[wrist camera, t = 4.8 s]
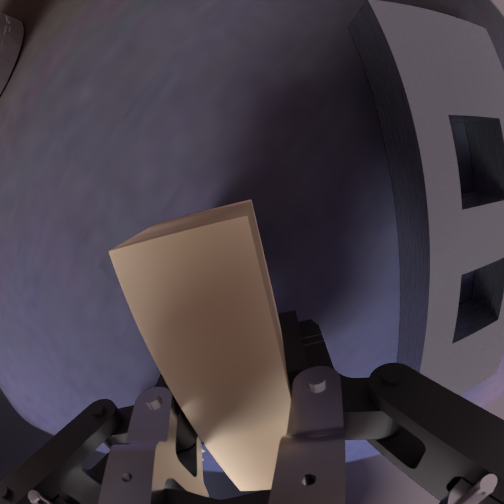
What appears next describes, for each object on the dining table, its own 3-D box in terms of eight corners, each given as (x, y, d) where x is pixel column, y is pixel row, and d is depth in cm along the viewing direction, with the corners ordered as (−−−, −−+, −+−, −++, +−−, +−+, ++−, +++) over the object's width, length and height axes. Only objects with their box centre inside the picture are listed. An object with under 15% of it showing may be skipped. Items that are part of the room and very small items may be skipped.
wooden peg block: (246, 390, 15) (240, 491, 8) (187, 206, 12) (108, 251, 5) (295, 381, 15) (310, 483, 8) (253, 190, 12) (247, 215, 5)
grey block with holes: (393, 389, 15) (408, 418, 12) (348, 27, 9) (367, -1, 6) (476, 351, 14) (496, 372, 12) (457, 42, 8) (485, 28, 6)
